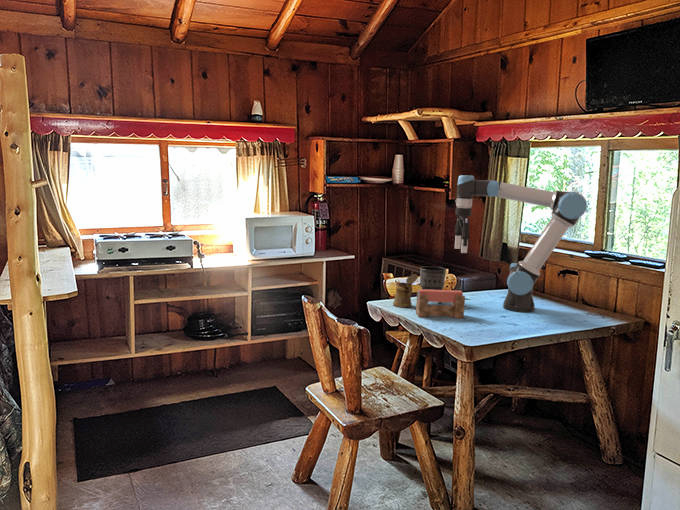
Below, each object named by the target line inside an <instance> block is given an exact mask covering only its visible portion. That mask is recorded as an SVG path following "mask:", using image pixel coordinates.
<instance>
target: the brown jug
mask: <svg viewBox="0 0 680 510" xmlns="http://www.w3.org/2000/svg"><path fill="white" fill-rule="evenodd" d="M418 278H419V275H418V274H417V273H416V272H415V273H413V274H411V275H409V276H408V277H407V278H406V282H397V285H396V287H395V289H396V290H395V295H394V298H393V299H394V300H393V302H392V306H393V307H396V308H402V309H405V308H406V309H407V308H411V307H412V305H413V304H412V300H411V299H412V298H411V297H412V294H413V284H414V283H415V282H416V281H417V280H418Z"/></svg>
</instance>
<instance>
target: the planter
mask: <svg viewBox="0 0 680 510" xmlns="http://www.w3.org/2000/svg"><path fill="white" fill-rule="evenodd" d="M419 269H420V271H419V286H420V289H425V290H444V288H445V280H446V272H447V269H446V268H444V267H441V266H432V265H431V266H429V265H428V266H425V265H424V266H421V267H420V268H419ZM437 304H438V305H443V302H437Z"/></svg>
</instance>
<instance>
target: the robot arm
mask: <svg viewBox="0 0 680 510" xmlns="http://www.w3.org/2000/svg"><path fill="white" fill-rule="evenodd" d="M456 186H457V187H456V199H455V200H454V201H455V205H456V207H455V216H456V223H455V229H454V234H455V239H454V249H456V250H457V249H459V250H460V253H461V254H467V253H468V245H469V239H470V218H468V217H471V216H472V207H473V196H475V197H476V196H478V197H479V196H480V197H490V198H493V197H494V198H495V197H496V198H501V199H504V200H505V199H506V200H511V201H516V202H521V203H526V204H530V205H536V206H541V207H545V208H550V210H551V219H550V220H549V221H548V223H547V225H546V226H545V227H544V229H543V231H542V232H541V234H540V235H539V237H538V238H537V239H536V241H535V243H534V244H533V246H532V247H531V248H530V250H529V251H528V253H527V254H526V256H525V257H524V259H523V260H520V261H518V262H512V263H511V264H510V266H509V275H508V277H507V279H506V285H507V287H508V290H507V294H506V296H505V298H504V301H503V302H502V303H503V304H502V307H503V309H505V310H508V311H512V312H517V313H532V312H534V311H535V309H536V307H535V306H536V305H535V302H534V297H533V287H534V285H535V283H536V282H537V280H538V279H539V277H540V276H541V272H540V270H541V269H542V267H543V266H544V264H545V263H546V261H547V260H548V259H549V257H550V256H551V254H552V253H553V252H554V250H555V248H556V247H557V245H558V244H559V242H560V241H561V239H562V238H563V237H564V235H565V233H567V231H568V229H569V228H571V227H574V226H575V225H576V223H578V221H579V219H580V218H581V217H582V216H583V215H585V213H586V211H587V208H588V205H587V204H588V203H587V200H586V198H585V197H584V195H582V194H581V193H579V192H576V191H564V190H562V191H561V190H555V191H550V190H544V189H541V188H534V187H529V186H524V185H520V184H519V185H518V184H512V183H506V182H502V181H498V180H493V179H485V180H484V179H479V180H478V179H475V176H474V175H467V174H466V175H463V174H460V175H459V176H458V179H457V184H456Z"/></svg>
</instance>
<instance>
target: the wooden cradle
mask: <svg viewBox="0 0 680 510" xmlns="http://www.w3.org/2000/svg"><path fill="white" fill-rule="evenodd" d="M465 301H466V295H463V296H456V302H455V303H452V302H451V305H450V304H449V305H448V304H446V305H445V304H429V302H428V295H423V294H419V301H418V290H417V291H416V302H415V303H416V305H415V307H416V308H415V314H416V316H417V317H418V318H428V317H453V318H454V319H461V320H463V319H464V317H465V315H464V314H465V306H466V305H465Z"/></svg>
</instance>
